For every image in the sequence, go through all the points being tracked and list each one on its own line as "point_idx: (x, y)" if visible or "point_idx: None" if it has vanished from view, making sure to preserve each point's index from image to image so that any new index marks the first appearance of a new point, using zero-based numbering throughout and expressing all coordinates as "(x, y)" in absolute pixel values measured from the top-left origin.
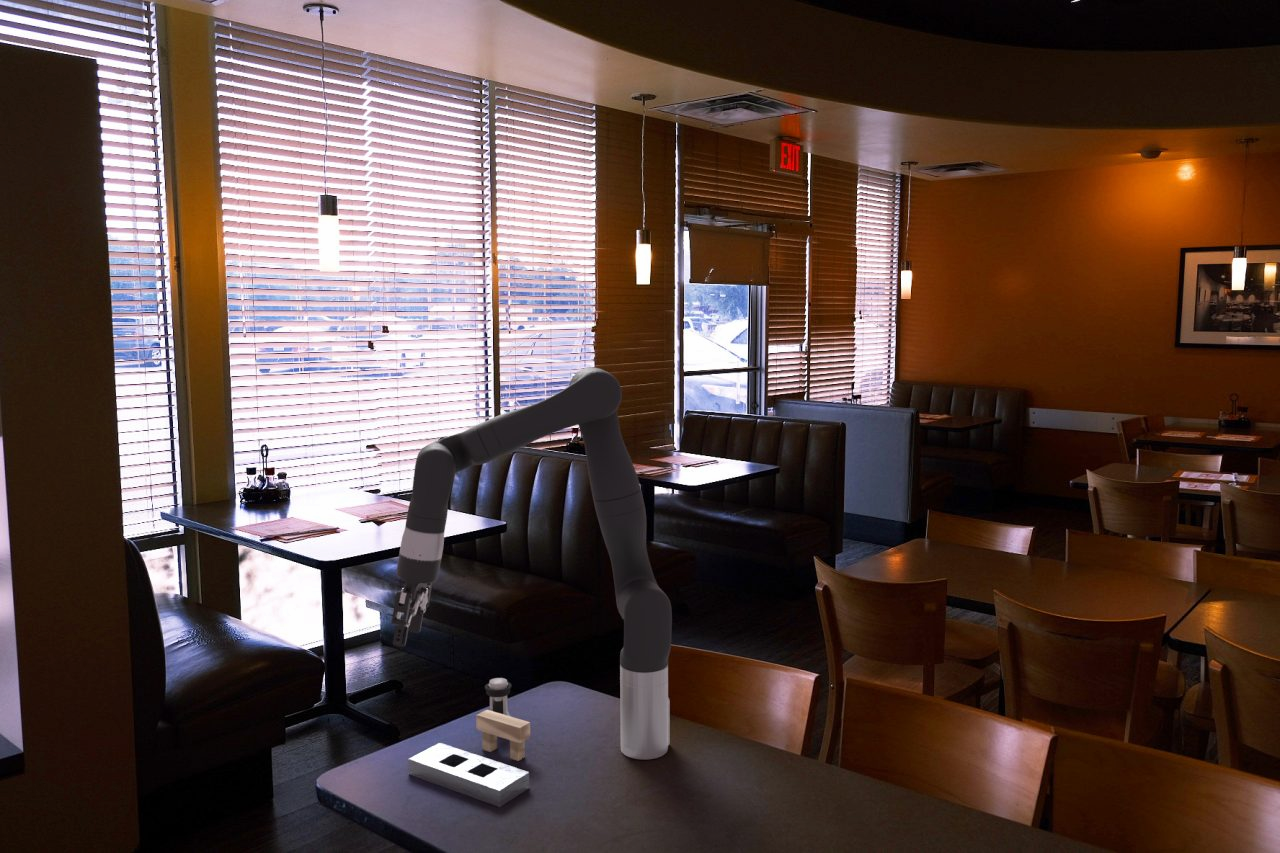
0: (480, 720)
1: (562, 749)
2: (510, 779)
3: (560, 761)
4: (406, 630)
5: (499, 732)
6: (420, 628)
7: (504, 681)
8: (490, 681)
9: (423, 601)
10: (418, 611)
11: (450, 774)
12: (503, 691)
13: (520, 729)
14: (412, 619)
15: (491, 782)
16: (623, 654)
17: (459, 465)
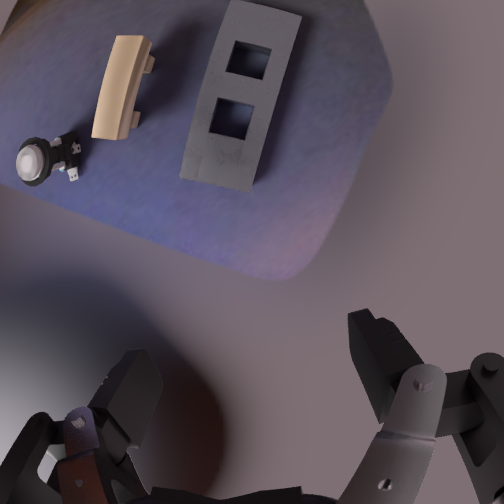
0: (121, 129)
1: (105, 30)
2: (263, 12)
3: (140, 12)
4: (400, 357)
5: (136, 84)
6: (127, 357)
7: (23, 152)
8: (31, 176)
9: (113, 497)
10: (112, 434)
11: (275, 102)
12: (42, 140)
13: (143, 36)
14: (141, 414)
15: (282, 33)
16: None
17: None
